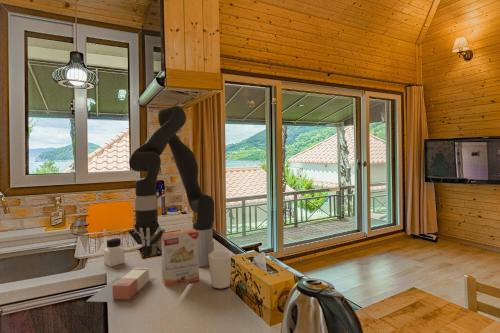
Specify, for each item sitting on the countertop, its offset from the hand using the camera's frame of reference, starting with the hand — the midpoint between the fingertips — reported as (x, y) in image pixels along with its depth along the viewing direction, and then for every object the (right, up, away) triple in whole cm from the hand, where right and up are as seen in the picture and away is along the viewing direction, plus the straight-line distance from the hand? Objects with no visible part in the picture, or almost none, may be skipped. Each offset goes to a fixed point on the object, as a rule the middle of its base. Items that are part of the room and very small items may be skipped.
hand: (147, 255), depth 105 cm
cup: (+25, -16, +11) cm, 32 cm away
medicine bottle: (-29, -15, +37) cm, 50 cm away
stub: (-9, -15, +1) cm, 17 cm away
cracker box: (+9, -16, +14) cm, 23 cm away
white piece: (-12, -16, +7) cm, 21 cm away
